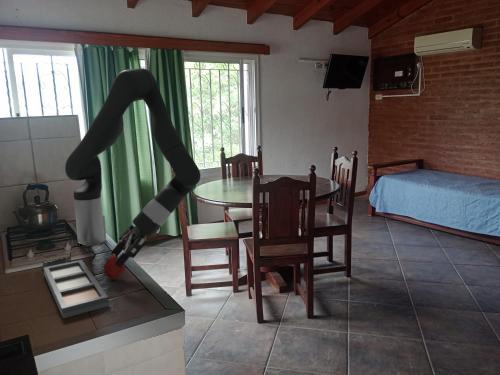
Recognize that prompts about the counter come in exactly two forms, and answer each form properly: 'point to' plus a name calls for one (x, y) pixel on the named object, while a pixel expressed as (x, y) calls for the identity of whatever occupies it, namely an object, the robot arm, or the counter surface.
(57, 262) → the phone
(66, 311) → the keypad
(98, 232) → the robot arm
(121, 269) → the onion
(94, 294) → the terracotta key
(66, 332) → the counter surface
